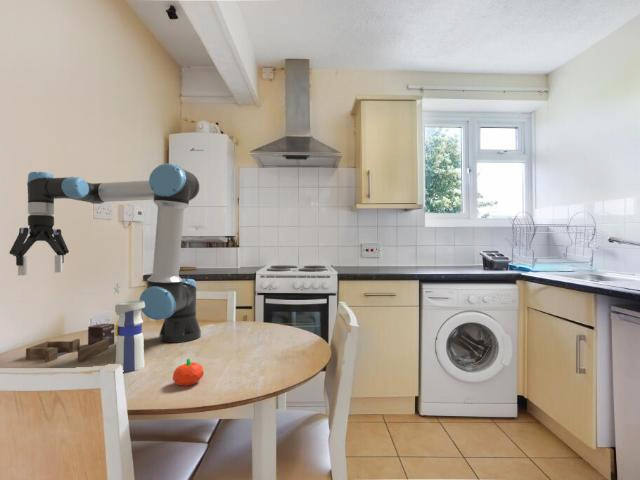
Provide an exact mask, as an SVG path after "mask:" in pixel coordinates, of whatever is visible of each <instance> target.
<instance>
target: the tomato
mask: <svg viewBox="0 0 640 480" xmlns="http://www.w3.org/2000/svg"><path fill="white" fill-rule="evenodd" d="M204 374H205V373H204V369H203V366H202V365H201V364H200V363H198V362H194V361H193V362H191V359H190V358H187V359H186V363H184V364H181V365H180V366H178V367H175V370H174V371H173V374H172V381H173V382H174V383H175V384H176V385H178V386H187V387H188V386H191V385H194V384H196V383H197V382H199V381H200V380H201V379H202V378H203V376H204Z"/></svg>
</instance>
